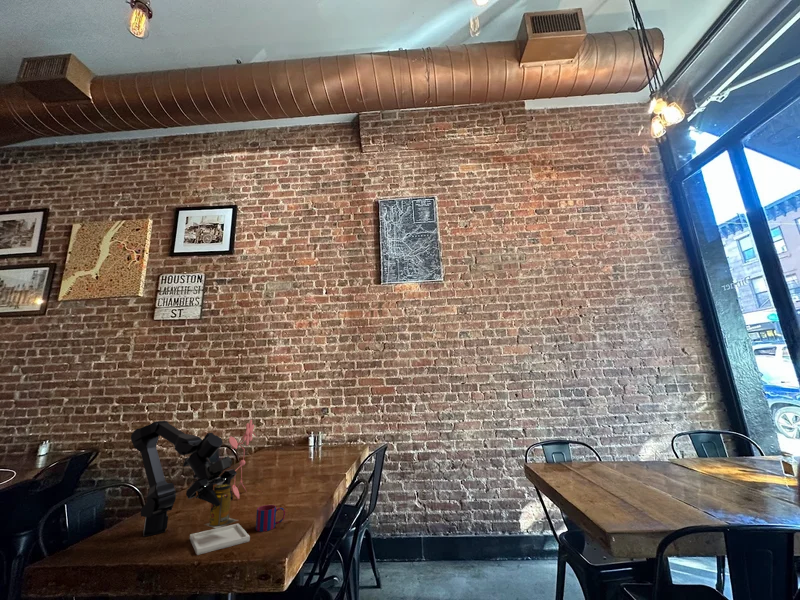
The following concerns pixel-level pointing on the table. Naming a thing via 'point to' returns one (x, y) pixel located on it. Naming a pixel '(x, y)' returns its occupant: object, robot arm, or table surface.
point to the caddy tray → (218, 538)
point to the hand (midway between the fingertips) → (225, 502)
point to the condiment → (221, 507)
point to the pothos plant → (234, 444)
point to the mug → (267, 518)
